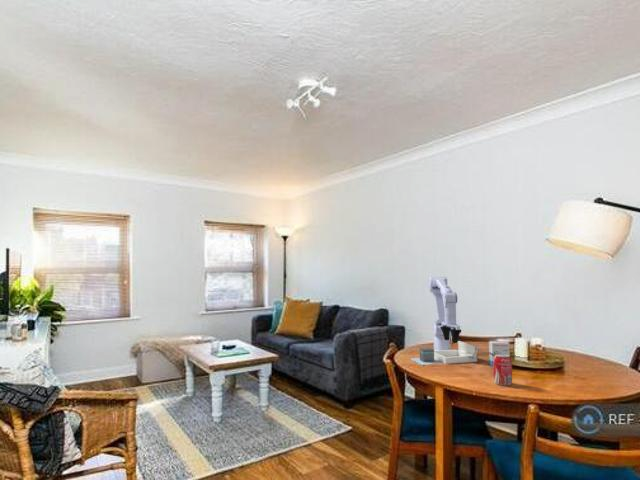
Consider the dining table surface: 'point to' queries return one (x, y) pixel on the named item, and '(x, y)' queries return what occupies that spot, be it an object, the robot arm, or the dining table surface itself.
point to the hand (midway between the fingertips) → (450, 341)
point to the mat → (424, 362)
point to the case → (457, 354)
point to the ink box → (497, 349)
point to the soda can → (502, 369)
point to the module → (426, 354)
